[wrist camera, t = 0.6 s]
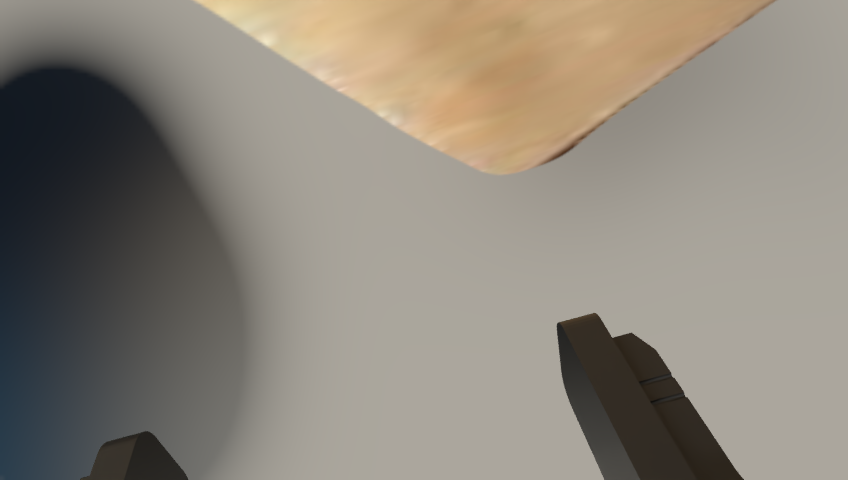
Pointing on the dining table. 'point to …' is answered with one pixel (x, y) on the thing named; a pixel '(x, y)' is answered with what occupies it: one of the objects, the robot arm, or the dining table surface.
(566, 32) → the dining table surface
